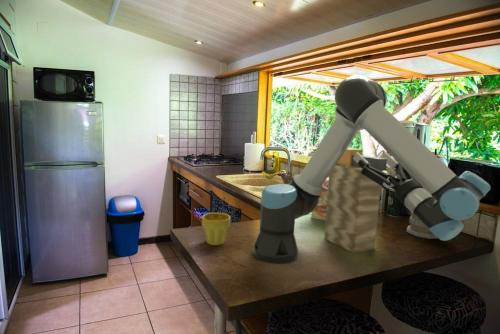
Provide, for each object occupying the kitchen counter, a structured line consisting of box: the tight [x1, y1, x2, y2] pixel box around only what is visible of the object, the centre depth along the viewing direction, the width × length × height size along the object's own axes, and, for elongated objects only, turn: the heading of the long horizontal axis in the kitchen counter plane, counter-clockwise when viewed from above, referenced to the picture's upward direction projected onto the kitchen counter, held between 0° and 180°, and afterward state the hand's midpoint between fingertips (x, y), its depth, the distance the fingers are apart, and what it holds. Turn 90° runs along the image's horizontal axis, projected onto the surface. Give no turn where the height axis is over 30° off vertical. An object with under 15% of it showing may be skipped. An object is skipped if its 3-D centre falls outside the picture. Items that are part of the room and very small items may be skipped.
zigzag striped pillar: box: [324, 164, 382, 254], centre depth 124 cm, size 16×10×30 cm, turn 28°
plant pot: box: [201, 212, 232, 246], centre depth 121 cm, size 10×10×10 cm
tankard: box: [406, 213, 439, 240], centre depth 138 cm, size 20×13×15 cm, turn 14°
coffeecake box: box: [310, 177, 329, 221], centre depth 157 cm, size 15×7×20 cm, turn 67°
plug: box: [337, 147, 388, 172], centre depth 120 cm, size 20×6×6 cm, turn 28°
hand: (369, 155), depth 116 cm, fingers open, 13 cm apart
